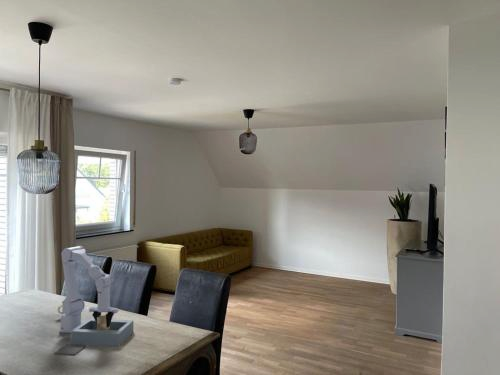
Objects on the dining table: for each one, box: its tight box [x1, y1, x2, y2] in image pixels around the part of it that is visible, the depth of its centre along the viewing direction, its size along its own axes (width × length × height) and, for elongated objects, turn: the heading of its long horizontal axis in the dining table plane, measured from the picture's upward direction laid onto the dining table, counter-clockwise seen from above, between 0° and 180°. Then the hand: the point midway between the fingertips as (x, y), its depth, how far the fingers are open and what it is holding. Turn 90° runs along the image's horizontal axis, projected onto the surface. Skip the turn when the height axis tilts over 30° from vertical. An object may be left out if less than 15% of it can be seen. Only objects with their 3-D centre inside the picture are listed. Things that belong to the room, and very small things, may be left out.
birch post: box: [97, 313, 110, 331], centre depth 194 cm, size 4×4×7 cm
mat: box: [53, 343, 87, 356], centre depth 179 cm, size 10×10×1 cm
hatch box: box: [70, 317, 134, 347], centre depth 194 cm, size 24×18×6 cm
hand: (103, 326), depth 194 cm, fingers closed on birch post, 4 cm apart
